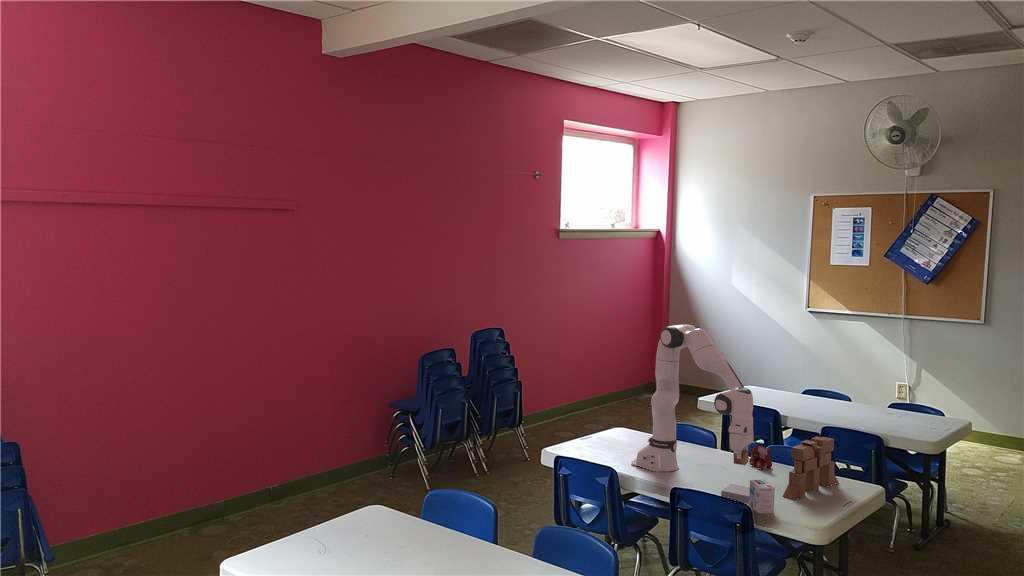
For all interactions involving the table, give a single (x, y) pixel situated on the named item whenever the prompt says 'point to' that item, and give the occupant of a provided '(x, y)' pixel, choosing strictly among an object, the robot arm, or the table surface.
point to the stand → (736, 492)
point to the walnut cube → (743, 460)
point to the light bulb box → (761, 496)
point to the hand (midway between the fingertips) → (741, 456)
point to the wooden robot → (811, 467)
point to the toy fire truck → (760, 457)
